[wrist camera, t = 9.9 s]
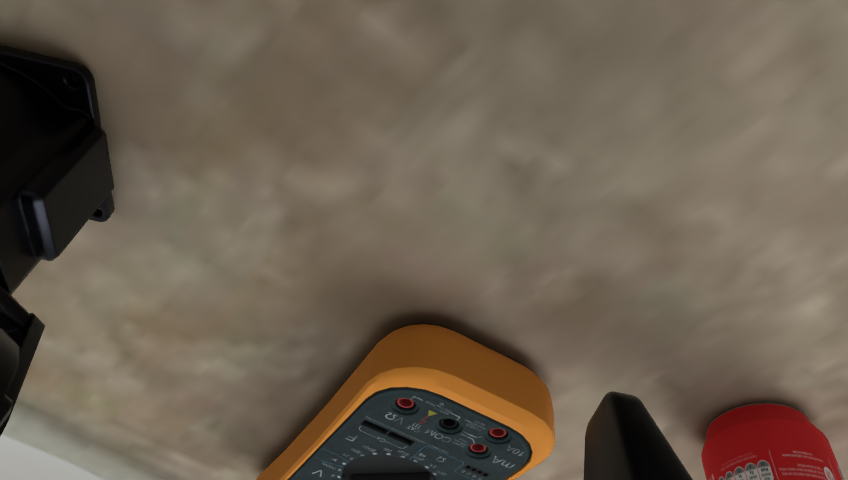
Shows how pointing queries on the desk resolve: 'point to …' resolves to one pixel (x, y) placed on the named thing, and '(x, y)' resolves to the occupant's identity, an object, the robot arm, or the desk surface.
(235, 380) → the desk surface
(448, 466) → the multimeter
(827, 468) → the red soda can
